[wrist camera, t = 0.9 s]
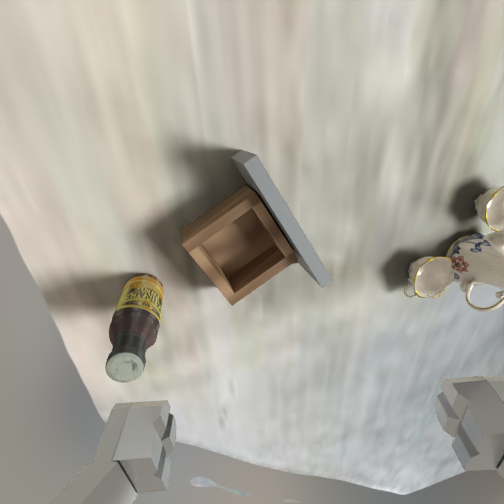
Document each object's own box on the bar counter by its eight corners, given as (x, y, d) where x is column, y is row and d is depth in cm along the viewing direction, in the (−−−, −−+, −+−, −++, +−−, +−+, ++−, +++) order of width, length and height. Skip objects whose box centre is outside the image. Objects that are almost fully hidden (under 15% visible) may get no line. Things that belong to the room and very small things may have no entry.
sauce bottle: (170, 280, 55) (170, 356, 36) (153, 310, 56) (145, 398, 38) (132, 264, 52) (112, 336, 34) (115, 296, 53) (87, 382, 35)
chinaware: (479, 163, 62) (573, 167, 47) (526, 215, 67) (626, 234, 52) (381, 276, 66) (436, 315, 51) (432, 317, 71) (497, 365, 56)
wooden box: (180, 230, 52) (181, 244, 46) (245, 184, 52) (255, 192, 45) (225, 285, 57) (232, 305, 51) (283, 244, 57) (298, 258, 51)
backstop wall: (230, 157, 50) (243, 164, 41) (240, 149, 50) (256, 154, 41) (298, 262, 59) (322, 287, 50) (307, 256, 59) (332, 280, 50)
